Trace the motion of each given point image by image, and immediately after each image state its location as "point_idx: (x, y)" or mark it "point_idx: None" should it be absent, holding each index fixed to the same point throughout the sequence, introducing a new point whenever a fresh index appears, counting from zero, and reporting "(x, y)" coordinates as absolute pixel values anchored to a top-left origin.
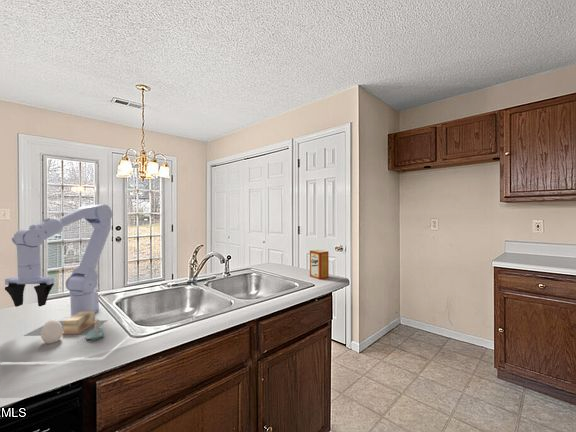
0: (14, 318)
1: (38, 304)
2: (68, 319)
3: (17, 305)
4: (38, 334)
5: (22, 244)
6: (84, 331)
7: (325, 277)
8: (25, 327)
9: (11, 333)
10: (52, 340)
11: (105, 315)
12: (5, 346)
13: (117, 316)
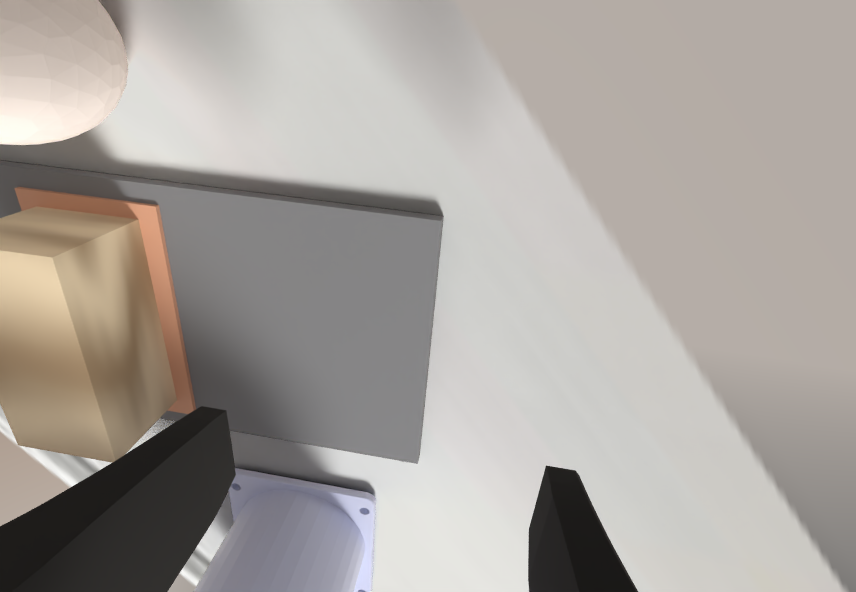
0: (771, 586)
1: (203, 425)
2: (34, 280)
3: (546, 484)
4: (328, 225)
5: None
6: None
7: None
8: (570, 413)
9: (608, 318)
10: None
11: None
12: (464, 29)
13: (66, 462)
